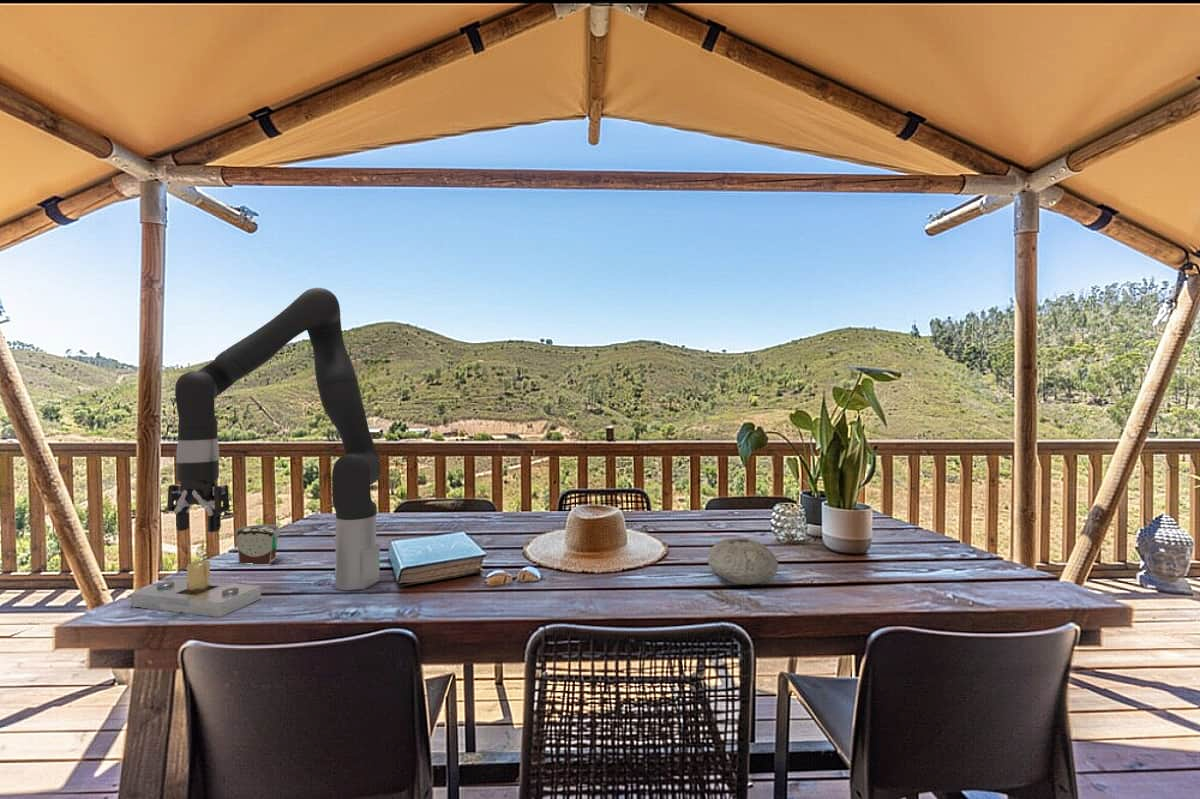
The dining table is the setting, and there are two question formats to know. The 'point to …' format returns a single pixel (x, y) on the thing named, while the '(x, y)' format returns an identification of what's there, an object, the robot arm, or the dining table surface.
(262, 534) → the food container
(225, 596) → the studded base plate
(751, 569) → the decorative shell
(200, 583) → the brass pin
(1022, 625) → the dining table surface
